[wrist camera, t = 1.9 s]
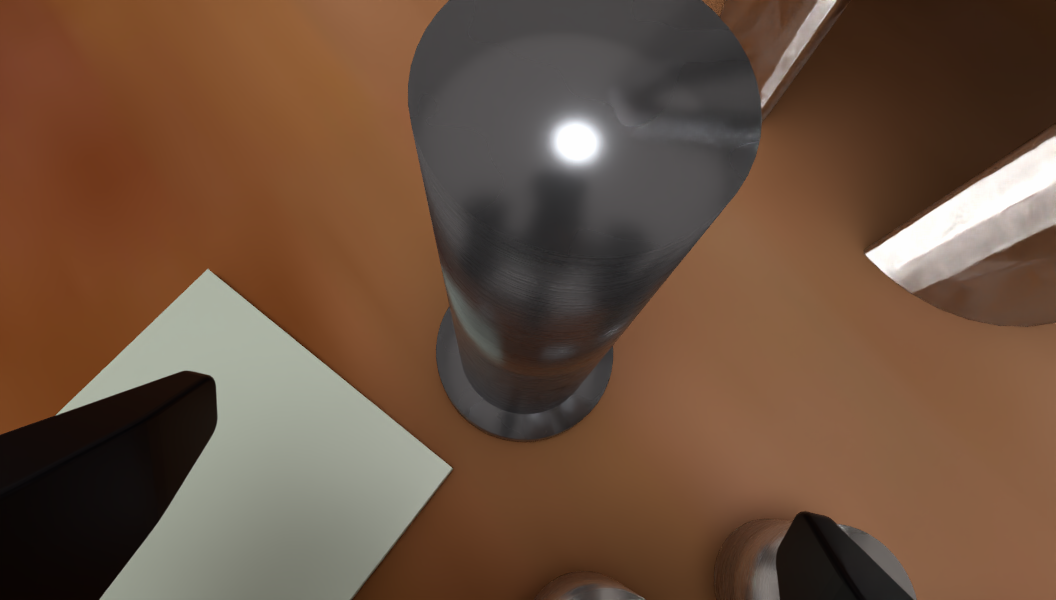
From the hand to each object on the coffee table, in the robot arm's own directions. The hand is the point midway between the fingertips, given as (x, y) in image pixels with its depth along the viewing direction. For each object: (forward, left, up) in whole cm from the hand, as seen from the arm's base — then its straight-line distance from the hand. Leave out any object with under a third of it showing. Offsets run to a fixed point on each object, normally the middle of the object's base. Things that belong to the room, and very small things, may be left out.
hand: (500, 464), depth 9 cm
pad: (-6, +7, -11) cm, 14 cm away
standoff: (+4, +2, -11) cm, 12 cm away
